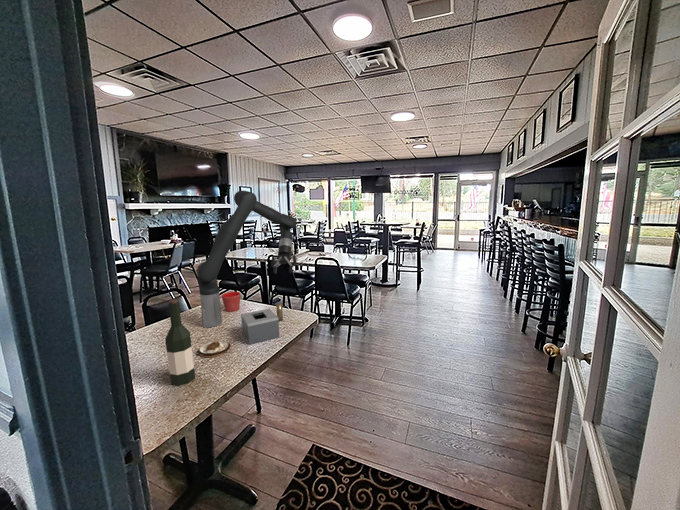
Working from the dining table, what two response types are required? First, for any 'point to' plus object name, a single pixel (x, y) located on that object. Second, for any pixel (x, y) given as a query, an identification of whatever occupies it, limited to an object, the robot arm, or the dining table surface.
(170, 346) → the wine bottle
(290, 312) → the dining table surface
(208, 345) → the plate of food
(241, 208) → the robot arm
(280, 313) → the brown glossy cylinder
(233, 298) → the flower pot
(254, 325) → the box
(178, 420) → the dining table surface
